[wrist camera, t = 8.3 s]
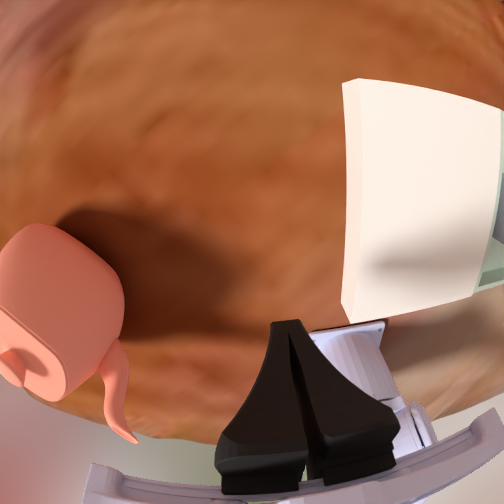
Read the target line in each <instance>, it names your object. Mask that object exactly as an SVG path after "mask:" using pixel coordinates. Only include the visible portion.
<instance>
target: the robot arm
mask: <svg viewBox="0 0 504 504" xmlns="http://www.w3.org/2000/svg"><path fill="white" fill-rule="evenodd" d="M270 327H271V330H270V339H269V344H268V348H267V352H266V355H265V359H264V361H263V364H262V367H261V370H260V372H259V375H258V377H257V379H256V382H255V384H254V386H253V388H252V390H251V391H250V393H249V395H248V397H247V399H246V400H245V402H244V404H243V405H242V407H241V408H240V410H239V411H238V413H237V414H236V415H235V417H234V418H233V419H232V421H231V422H230V423H229V424H228V426H227V427H226V428H225V429H224V430H223V432H222V434H221V436H220V438H219V441H218V444H217V447H216V451H215V463H214V465H215V468H216V469H217V470H218V472H219V473H220V474H221V476H222V483H221V486H201V485H200V486H199V485H187V484H177V483H168V482H161V481H154V480H148V479H142V478H137V477H131V476H127V475H123V474H122V473H121V472H120V471H118V470H116V469H114V468H110V467H107V466H103V465H99V464H96V463H91V466H90V470H89V474H88V478H87V482H86V486H85V490H84V494H83V499H82V503H81V504H248V503H247V502H256V501H257V502H258V501H273V500H281V501H279V502H271V503H262V504H423V503H424V502H425V501H426V500H427V498H428V497H429V496H430V495H432V494H434V493H436V492H438V491H440V490H442V489H444V488H446V487H447V486H449V485H451V484H453V483H455V482H456V481H458V480H460V479H462V478H463V477H465V476H467V475H468V474H470V473H472V472H473V471H475V470H476V469H478V468H480V467H481V466H483V465H484V464H485V463H487V462H488V461H490V460H491V459H492V458H493V457H495V456H496V455H497V454H499V453H500V452H501V451H502V450H503V449H504V425H503V423H502V421H501V419H500V417H499V415H498V413H497V412H496V410H495V408H491V409H490V410H488V411H487V412H485V413H483V414H482V415H480V416H478V417H477V418H476V419H475V420H474V421H473V422H472V423H471V424H470V426H468V427H467V428H465V429H463V430H461V431H459V432H457V433H455V434H453V435H451V436H449V437H447V438H445V439H443V440H441V441H439V442H438V440H437V437H436V435H435V432H434V429H433V427H432V425H431V422H430V420H429V418H428V415H427V413H426V411H425V409H424V407H423V406H422V404H421V403H418V402H415V401H411V402H409V403H408V406H409V408H410V411H411V415H412V418H413V420H414V423H415V424H414V423H413V421H412V418H411V416H410V414H409V411H408V409H407V407H406V404H405V402H404V400H403V397H402V396H401V395H400V393H399V391H398V388H397V386H396V384H395V382H394V379H393V377H392V375H391V373H390V371H389V368H388V366H387V364H386V362H385V360H384V358H383V356H382V354H381V352H380V349H379V346H380V343H381V339H382V335H383V332H384V328H385V323H384V321H376V322H371V323H366V324H360V325H355V326H349V327H343V328H337V329H330V330H324V331H317V332H311V333H310V334H308V333H307V331H306V330H305V328H304V326H303V324H302V322H301V321H300V320H299V319H295V320H287V321H278V322H272V323H271V324H270ZM313 340H314V341H313ZM423 446H424V448H423ZM305 465H306V469H307V481H301V479H302V475H303V471H304V470H305Z"/></svg>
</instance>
